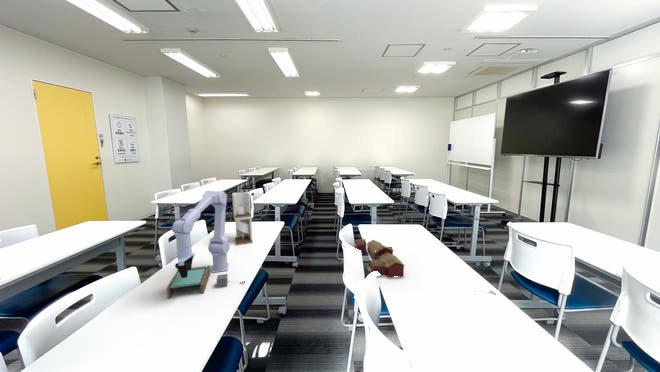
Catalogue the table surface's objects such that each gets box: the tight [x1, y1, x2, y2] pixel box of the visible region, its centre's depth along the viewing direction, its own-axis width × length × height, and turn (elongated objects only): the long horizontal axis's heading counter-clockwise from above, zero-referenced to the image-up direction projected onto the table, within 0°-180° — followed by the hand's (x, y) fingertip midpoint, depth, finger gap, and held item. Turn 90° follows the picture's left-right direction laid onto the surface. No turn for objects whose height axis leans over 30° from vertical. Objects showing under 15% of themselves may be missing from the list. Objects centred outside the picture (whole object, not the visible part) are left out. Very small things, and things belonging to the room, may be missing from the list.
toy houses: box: [352, 238, 406, 278], centre depth 156 cm, size 45×20×10 cm, turn 9°
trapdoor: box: [170, 265, 207, 289], centre depth 127 cm, size 18×12×3 cm
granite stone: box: [216, 273, 229, 289], centre depth 128 cm, size 4×4×4 cm
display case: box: [231, 191, 253, 246], centre depth 185 cm, size 11×11×35 cm
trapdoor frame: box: [166, 264, 211, 300], centre depth 128 cm, size 20×15×5 cm
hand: (186, 273), depth 122 cm, fingers open, 7 cm apart
